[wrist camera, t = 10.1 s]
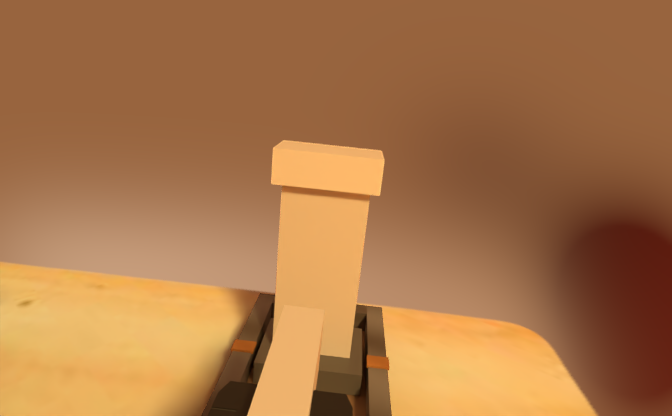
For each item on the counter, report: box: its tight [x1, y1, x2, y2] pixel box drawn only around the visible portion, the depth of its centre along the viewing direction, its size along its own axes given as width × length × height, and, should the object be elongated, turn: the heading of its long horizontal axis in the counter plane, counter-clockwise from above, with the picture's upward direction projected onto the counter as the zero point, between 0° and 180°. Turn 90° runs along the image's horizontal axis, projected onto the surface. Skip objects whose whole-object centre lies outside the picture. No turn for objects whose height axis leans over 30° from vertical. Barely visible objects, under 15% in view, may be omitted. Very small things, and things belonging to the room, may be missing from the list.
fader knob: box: [253, 140, 384, 396], centre depth 26 cm, size 5×7×14 cm
